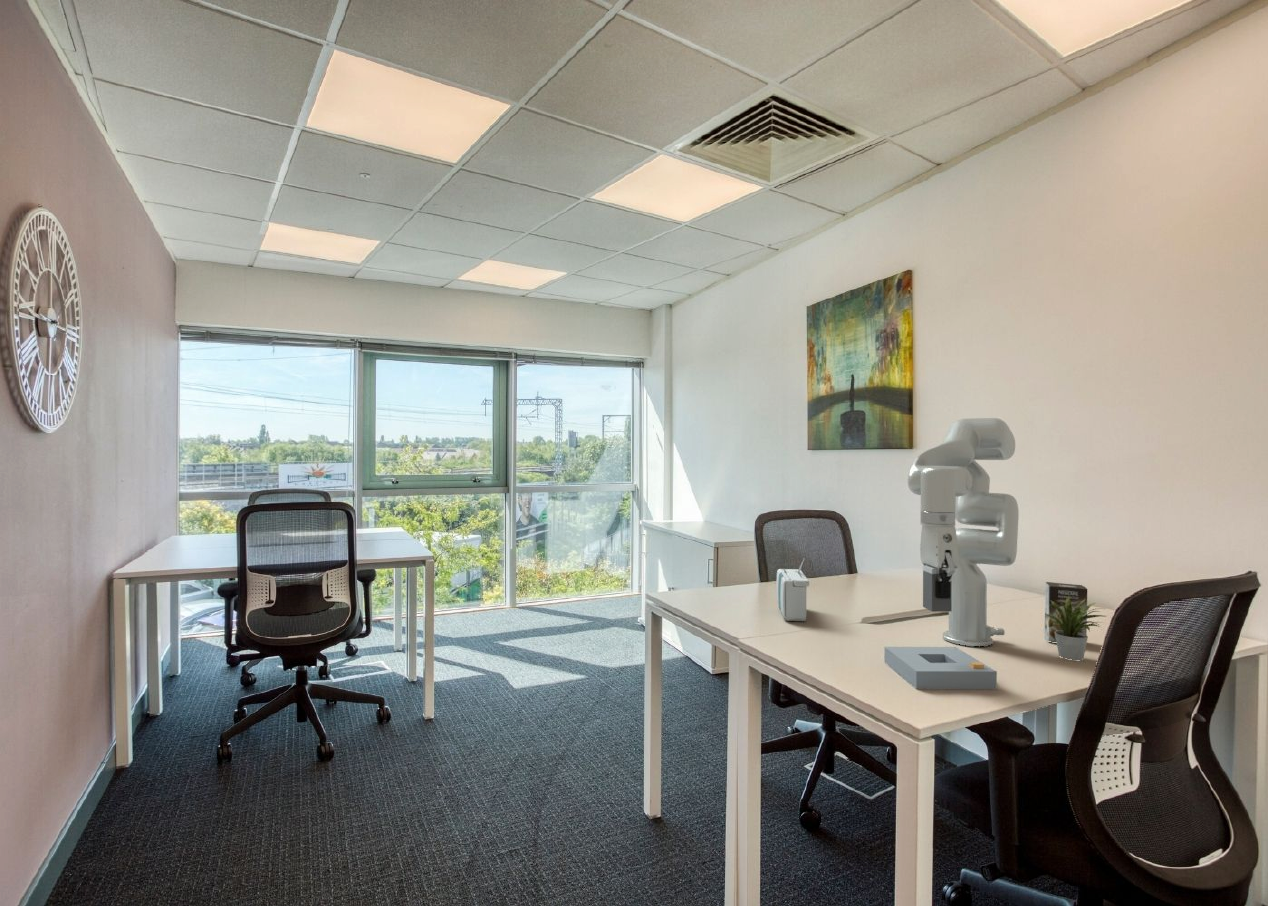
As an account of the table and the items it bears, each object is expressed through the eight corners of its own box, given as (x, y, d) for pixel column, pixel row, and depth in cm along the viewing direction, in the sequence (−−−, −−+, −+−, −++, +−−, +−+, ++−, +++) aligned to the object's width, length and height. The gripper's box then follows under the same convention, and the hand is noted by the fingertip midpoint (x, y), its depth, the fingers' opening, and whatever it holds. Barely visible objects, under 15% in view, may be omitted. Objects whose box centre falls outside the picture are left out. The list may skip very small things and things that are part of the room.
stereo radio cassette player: (776, 606, 219) (776, 548, 219) (800, 607, 218) (800, 548, 218) (782, 622, 198) (782, 558, 198) (809, 623, 197) (809, 559, 197)
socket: (955, 662, 160) (955, 643, 160) (996, 689, 142) (996, 668, 142) (884, 662, 160) (884, 643, 160) (916, 689, 142) (916, 667, 142)
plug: (941, 606, 154) (942, 565, 154) (951, 611, 149) (951, 568, 149) (922, 606, 154) (923, 565, 154) (931, 611, 149) (932, 568, 149)
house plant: (1080, 671, 154) (1080, 604, 154) (1025, 654, 167) (1025, 592, 167) (1116, 664, 160) (1116, 599, 160) (1060, 648, 173) (1061, 588, 173)
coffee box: (1047, 643, 177) (1048, 585, 177) (1044, 637, 183) (1044, 581, 183) (1087, 647, 174) (1087, 588, 174) (1082, 641, 179) (1082, 584, 179)
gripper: (972, 523, 143) (972, 604, 143) (936, 515, 160) (936, 588, 160) (939, 522, 143) (938, 604, 143) (906, 515, 160) (906, 588, 160)
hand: (937, 594), depth 151 cm, fingers closed on plug, 4 cm apart
